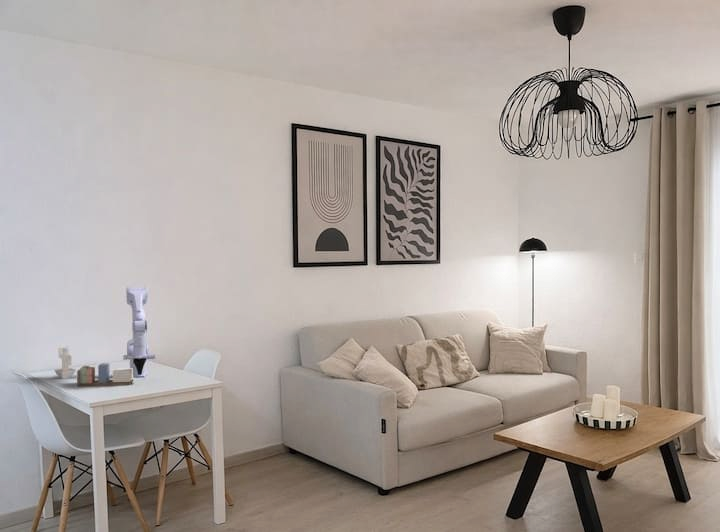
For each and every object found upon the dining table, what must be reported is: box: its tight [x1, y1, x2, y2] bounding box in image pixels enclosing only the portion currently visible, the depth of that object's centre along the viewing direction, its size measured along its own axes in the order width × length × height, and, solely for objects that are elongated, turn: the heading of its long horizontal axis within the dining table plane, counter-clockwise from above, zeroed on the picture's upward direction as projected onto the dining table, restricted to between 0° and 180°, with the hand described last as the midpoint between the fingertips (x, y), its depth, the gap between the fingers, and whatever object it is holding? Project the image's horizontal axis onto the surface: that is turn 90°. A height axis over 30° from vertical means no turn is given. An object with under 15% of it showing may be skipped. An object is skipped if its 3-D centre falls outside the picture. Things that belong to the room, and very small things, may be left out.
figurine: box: [54, 346, 77, 379], centre depth 302 cm, size 7×9×15 cm
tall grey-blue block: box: [97, 362, 111, 383], centre depth 289 cm, size 6×4×8 cm, turn 8°
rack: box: [76, 365, 134, 387], centre depth 289 cm, size 8×23×8 cm, turn 99°
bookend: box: [112, 367, 134, 382], centre depth 290 cm, size 7×8×5 cm
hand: (139, 374), depth 291 cm, fingers closed
